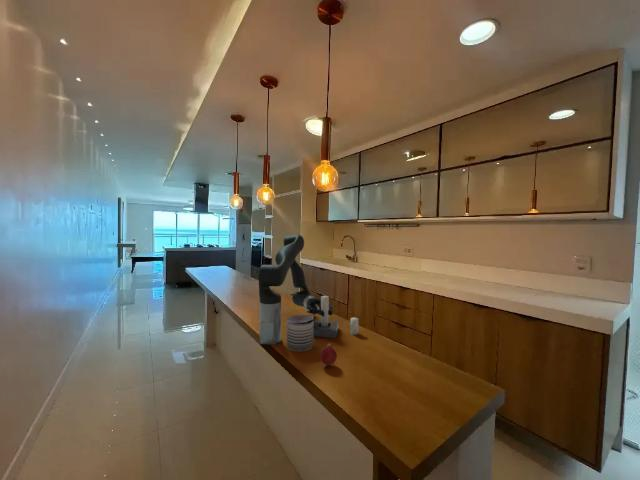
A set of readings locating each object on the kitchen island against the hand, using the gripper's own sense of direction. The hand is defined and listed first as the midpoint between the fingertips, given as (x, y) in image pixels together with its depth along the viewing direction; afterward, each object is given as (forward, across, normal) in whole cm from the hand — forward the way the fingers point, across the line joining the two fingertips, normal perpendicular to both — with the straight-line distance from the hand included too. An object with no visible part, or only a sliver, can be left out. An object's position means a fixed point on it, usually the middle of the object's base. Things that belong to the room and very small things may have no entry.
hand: (327, 313), depth 129 cm
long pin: (-3, 0, +10) cm, 10 cm away
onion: (+27, -13, +10) cm, 32 cm away
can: (+7, -16, +10) cm, 20 cm away
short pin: (+4, +12, +10) cm, 16 cm away
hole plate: (-3, 0, +10) cm, 10 cm away
